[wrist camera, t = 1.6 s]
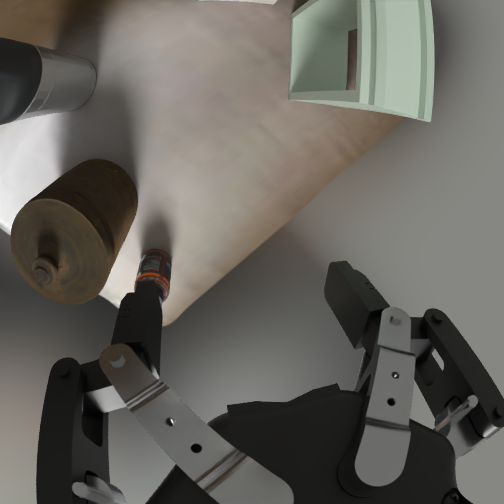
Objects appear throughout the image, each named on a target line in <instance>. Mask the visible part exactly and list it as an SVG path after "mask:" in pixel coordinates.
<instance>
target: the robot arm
mask: <svg viewBox="0 0 504 504" xmlns="http://www.w3.org/2000/svg"><path fill="white" fill-rule="evenodd" d="M95 85H96V71H95V68H94V66H93V65H92V64H91V63H90V62H89V61H88V60H85V59H83V58H80V57H77V56H74V55H70V54H67V53H64V52H60V51H56V50H53V49H49V48H45V47H41V46H36V45H32V44H28V43H23V42H19V41H15V40H11V39H6V38H0V125H2V124H6V123H10V122H13V121H17V120H22V119H26V118H31V117H36V116H41V115H47V114H53V113H60V112H67V111H72V110H75V109H77V108H79V107H81V106H82V105H83V104H84V103H85V102H86V101H87V100H88V99H89V98H90V96H91V95H92V93H93V91H94V88H95ZM324 293H325V298H326V301H327V302H328V304H329V306H330V307H331V309H332V311H333V313H334V314H335V316H336V318H337V319H338V321H339V323H340V325H341V326H342V328H343V330H344V331H345V333H346V335H347V336H348V338H349V340H350V342H351V343H352V345H353V347H354V349H358V348H362V347H364V348H365V352H364V355H363V360H362V363H361V368H360V372H359V376H358V379H357V383H356V386H355V389H354V391H348V390H340V388H339V386H338V384H337V383H336V384H333V385H329V386H325V387H322V388H318V389H314V390H311V391H309V392H307V393H306V394H303V395H301V396H299V397H297V398H295V399H293V400H291V401H288V402H261V401H254V402H247V403H240V404H232V405H227V409H228V412H227V413H225V414H222V415H220V416H218V417H216V418H214V419H213V420H211V421H210V422H208V423H207V424H206V423H205V422H204V421H203V420H202V419H201V418H200V417H198V416H197V415H196V414H195V413H194V412H193V411H192V410H191V409H190V408H189V407H188V406H187V405H186V404H185V403H184V402H183V401H182V400H181V399H180V398H179V397H178V396H177V395H176V394H175V393H174V392H173V391H172V390H171V389H170V388H169V387H168V386H167V385H166V384H165V383H163V382H162V383H160V382H159V381H158V380H157V379H159V378H160V352H161V335H162V334H161V333H162V320H163V315H162V307H161V303H160V299H159V295H158V291H157V287H156V283H155V280H154V279H152V280H139V281H137V284H136V288H135V292H133V293H127V294H126V296H125V297H124V298H123V299H122V301H121V304H120V307H119V312H118V315H117V319H116V324H115V328H114V332H113V337H112V341H111V346H109V347H107V348H106V349H105V350H103V352H102V353H101V355H100V358H99V359H98V360H95V361H92V362H89V363H85V364H81V365H80V364H79V363H78V362H77V361H76V360H75V359H73V358H63V359H60V360H58V361H57V362H56V363H55V364H54V365H53V367H52V369H51V371H50V376H49V380H48V385H47V389H46V394H45V399H44V405H43V411H42V418H41V424H40V432H39V441H38V454H37V476H36V486H37V487H36V489H37V490H36V492H37V504H127V503H126V500H125V497H124V495H123V493H122V492H121V491H120V489H118V488H117V487H116V486H114V485H112V484H110V477H109V459H108V414H109V411H112V410H116V409H119V408H123V407H126V406H127V407H128V408H129V409H130V411H131V412H132V413H133V415H134V416H135V417H136V419H137V420H138V421H139V422H140V424H141V425H142V426H143V427H144V429H145V430H146V431H147V432H148V433H149V434H150V436H151V437H152V438H153V439H154V440H155V441H156V442H157V444H158V445H159V446H160V447H161V448H162V449H163V450H164V452H165V453H166V454H167V455H168V456H169V457H170V458H171V459H172V460H173V461H174V462H175V463H176V465H175V466H174V467H173V469H172V470H171V471H170V473H169V474H168V476H167V477H166V478H165V479H164V481H163V482H162V483H161V485H160V486H159V487H158V489H157V490H156V491H155V492H154V493H153V495H152V496H151V497H150V499H149V500H148V501H147V502H146V504H473V503H471V502H470V501H468V500H467V499H466V498H465V497H464V496H463V495H462V494H461V493H460V492H459V490H458V488H457V483H456V475H455V461H456V459H457V458H458V457H460V456H463V455H465V454H466V453H468V452H469V451H471V450H473V449H474V448H475V447H477V446H478V445H480V444H481V443H483V442H484V441H485V440H487V439H488V438H490V437H491V436H492V435H494V434H495V433H496V432H497V431H499V430H500V429H501V428H502V427H504V398H503V397H502V395H501V394H500V392H499V390H498V388H497V386H496V385H495V383H494V382H493V380H492V378H491V377H490V376H489V374H488V372H487V371H486V369H485V368H484V366H483V365H482V363H481V362H480V360H479V359H478V357H477V356H476V354H475V353H474V351H473V350H472V349H471V347H470V346H469V344H468V343H467V342H466V341H465V339H464V338H463V336H462V335H461V334H460V332H459V331H458V330H457V328H456V327H455V326H454V324H453V323H452V322H451V320H450V319H449V318H448V317H447V315H446V314H445V313H443V312H442V311H440V310H438V309H434V308H433V309H428V310H427V311H426V312H425V314H424V316H423V317H409V315H408V314H407V313H406V312H405V311H404V310H402V309H400V308H396V307H390V306H389V304H388V303H387V302H386V301H385V299H384V298H383V297H382V296H381V294H380V293H379V292H378V291H377V289H375V287H374V286H373V285H372V283H370V281H369V280H368V278H367V277H366V276H365V275H364V274H362V273H361V272H359V271H358V270H354V269H353V268H352V267H351V265H350V264H349V263H348V262H347V261H338V262H331V263H330V265H329V268H328V274H327V278H326V283H325V288H324ZM434 349H436V351H437V352H438V354H439V355H440V357H441V358H442V360H443V361H444V370H443V371H442V370H441V368H440V367H439V365H438V363H437V362H436V360H435V359H434V357H433V355H432V352H433V351H434ZM414 380H415V382H416V383H417V385H418V387H419V389H420V391H421V392H422V394H423V396H424V398H425V400H426V402H427V404H428V406H429V408H430V410H431V412H432V414H433V416H434V418H435V428H434V429H433V430H432V429H430V428H428V427H426V426H424V425H422V424H420V423H418V422H415V421H414V420H412V419H410V411H411V404H412V395H413V385H414Z"/></svg>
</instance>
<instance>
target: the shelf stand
mask: <svg viewBox="0 0 504 504" xmlns="http://www.w3.org/2000/svg"><path fill="white" fill-rule="evenodd" d="M197 1H242V2H255V3H265V4H274V3H275V2H276V1H277V0H197Z"/></svg>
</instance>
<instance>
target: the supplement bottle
mask: <svg viewBox="0 0 504 504" xmlns="http://www.w3.org/2000/svg"><path fill="white" fill-rule="evenodd" d="M171 267H172V264H171V260H170V257H169V256H168V255H167V254H166V253H164V252H163V251H160V250H150V251H148V252H146V253H145V254H144V255H143V256H142V259H141V261H140V266H139V269H138V273H137V277H136V281H135V287H134V291H135V288H136V284H137V281H139V280H152V279H154V280H155V283H156V287H157V291H158V295H159V299H160V303H161V306H162V303H163V302H164V301H165V300H166V299H167V298H168V295H169V290H170V279H171Z"/></svg>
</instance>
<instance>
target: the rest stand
mask: <svg viewBox="0 0 504 504" xmlns="http://www.w3.org/2000/svg"><path fill="white" fill-rule="evenodd" d="M354 29H357V75H356V91H346V85H347V64H348V31H351V30H354ZM433 90H434V33H433V19H432V9H431V1H430V0H309V1H308V2H306V3H305V4H304V5H302V6H301V7H300V8H299V9H297V10H296V11H295V12H293V13H292V14H291V45H290V72H289V94H288V100H295V101H304V102H313V103H320V104H327V105H334V106H340V107H348V108H356V109H364V110H371V111H377V112H383V113H389V114H395V115H400V116H405V117H410V118H415V119H419V120H423V121H427V122H431V116H432V104H433Z"/></svg>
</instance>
